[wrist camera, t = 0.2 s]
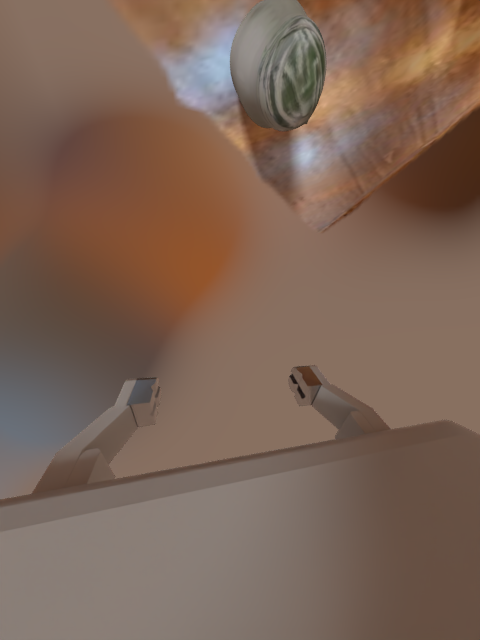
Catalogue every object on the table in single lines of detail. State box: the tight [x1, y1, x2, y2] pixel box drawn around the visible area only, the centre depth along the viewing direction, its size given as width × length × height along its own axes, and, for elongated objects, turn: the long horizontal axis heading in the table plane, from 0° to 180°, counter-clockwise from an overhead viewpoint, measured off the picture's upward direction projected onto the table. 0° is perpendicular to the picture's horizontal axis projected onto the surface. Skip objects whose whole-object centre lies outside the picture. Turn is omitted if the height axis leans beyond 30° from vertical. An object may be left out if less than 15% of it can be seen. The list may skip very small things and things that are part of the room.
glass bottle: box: [230, 0, 326, 131], centre depth 25 cm, size 10×10×28 cm
